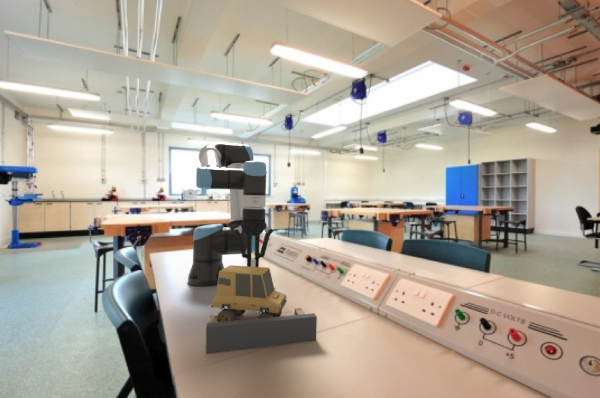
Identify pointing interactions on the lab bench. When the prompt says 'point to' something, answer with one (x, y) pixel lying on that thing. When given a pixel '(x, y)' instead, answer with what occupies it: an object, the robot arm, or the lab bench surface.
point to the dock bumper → (260, 332)
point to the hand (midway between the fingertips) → (252, 277)
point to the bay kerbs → (297, 312)
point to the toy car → (247, 293)
